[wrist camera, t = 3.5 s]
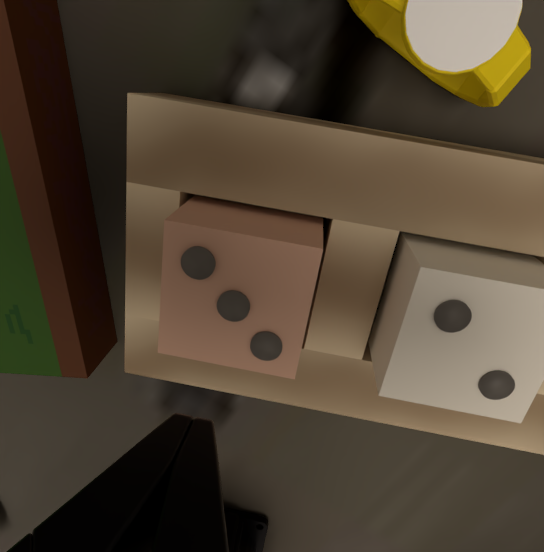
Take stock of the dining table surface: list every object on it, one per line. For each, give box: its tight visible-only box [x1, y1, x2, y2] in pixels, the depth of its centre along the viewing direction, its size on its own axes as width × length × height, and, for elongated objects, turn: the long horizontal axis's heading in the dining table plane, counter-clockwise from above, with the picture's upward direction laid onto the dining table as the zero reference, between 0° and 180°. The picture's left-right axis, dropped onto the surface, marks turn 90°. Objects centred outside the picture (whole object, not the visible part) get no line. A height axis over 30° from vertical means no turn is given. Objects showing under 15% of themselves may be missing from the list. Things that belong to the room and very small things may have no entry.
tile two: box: [368, 232, 544, 423], centre depth 15 cm, size 5×5×4 cm
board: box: [125, 93, 544, 455], centre depth 18 cm, size 12×26×4 cm, turn 81°
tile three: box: [158, 195, 323, 379], centre depth 15 cm, size 5×5×4 cm
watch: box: [347, 0, 531, 107], centre depth 13 cm, size 6×3×6 cm, turn 56°
